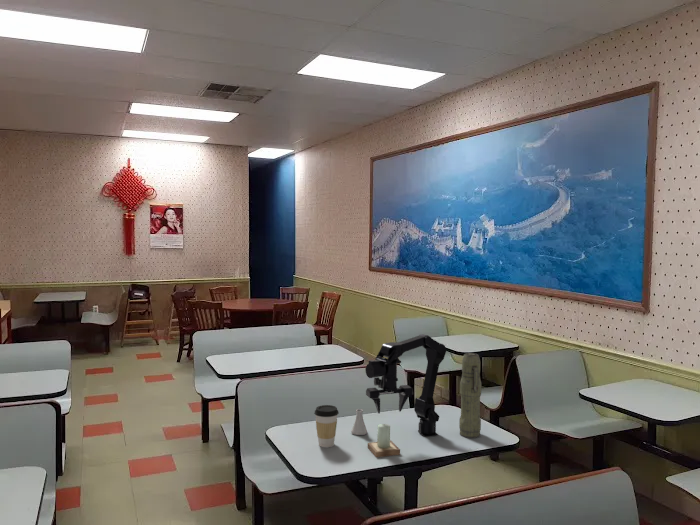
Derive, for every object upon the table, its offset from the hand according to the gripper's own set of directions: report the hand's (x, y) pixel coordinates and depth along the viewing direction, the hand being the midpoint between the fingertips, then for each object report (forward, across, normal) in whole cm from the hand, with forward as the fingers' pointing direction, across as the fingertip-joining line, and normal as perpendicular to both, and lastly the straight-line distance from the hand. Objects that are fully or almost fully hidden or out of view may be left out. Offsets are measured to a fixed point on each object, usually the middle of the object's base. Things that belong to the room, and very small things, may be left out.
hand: (389, 412), depth 230 cm
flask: (+13, +8, -15) cm, 22 cm away
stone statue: (+13, -37, 0) cm, 39 cm away
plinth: (+13, +5, +7) cm, 16 cm away
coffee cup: (+13, +25, -6) cm, 29 cm away
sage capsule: (+11, +5, +7) cm, 14 cm away
